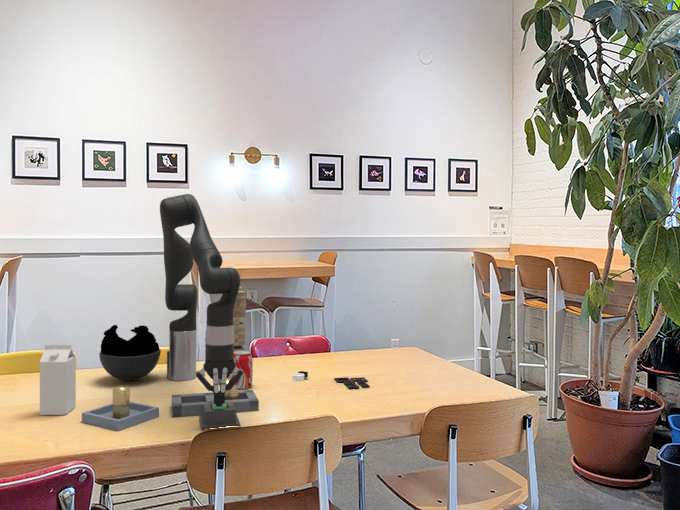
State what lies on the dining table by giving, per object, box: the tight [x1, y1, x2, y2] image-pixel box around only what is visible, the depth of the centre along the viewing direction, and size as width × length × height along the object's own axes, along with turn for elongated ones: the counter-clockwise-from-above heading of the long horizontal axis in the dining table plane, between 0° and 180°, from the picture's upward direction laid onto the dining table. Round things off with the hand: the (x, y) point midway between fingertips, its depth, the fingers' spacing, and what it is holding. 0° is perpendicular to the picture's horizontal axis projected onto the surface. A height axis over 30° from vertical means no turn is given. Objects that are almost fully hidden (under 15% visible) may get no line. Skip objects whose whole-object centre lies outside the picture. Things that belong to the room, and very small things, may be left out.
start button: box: [212, 404, 227, 409], centre depth 155 cm, size 4×4×3 cm
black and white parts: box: [291, 370, 370, 391], centre depth 198 cm, size 20×25×3 cm
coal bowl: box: [98, 324, 162, 382], centre depth 199 cm, size 20×20×19 cm
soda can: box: [230, 349, 254, 390], centre depth 191 cm, size 7×7×12 cm
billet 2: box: [218, 374, 240, 400], centre depth 172 cm, size 4×4×8 cm
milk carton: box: [39, 344, 77, 416], centre depth 163 cm, size 7×7×19 cm
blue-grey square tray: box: [81, 401, 160, 432], centre depth 157 cm, size 14×14×2 cm
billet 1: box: [112, 384, 131, 419], centre depth 157 cm, size 4×4×8 cm
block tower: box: [233, 286, 247, 351], centre depth 236 cm, size 8×8×29 cm
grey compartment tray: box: [171, 389, 260, 418], centre depth 169 cm, size 24×12×3 cm, turn 107°
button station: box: [198, 401, 241, 431], centre depth 155 cm, size 10×10×4 cm
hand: (219, 405), depth 155 cm, fingers closed
